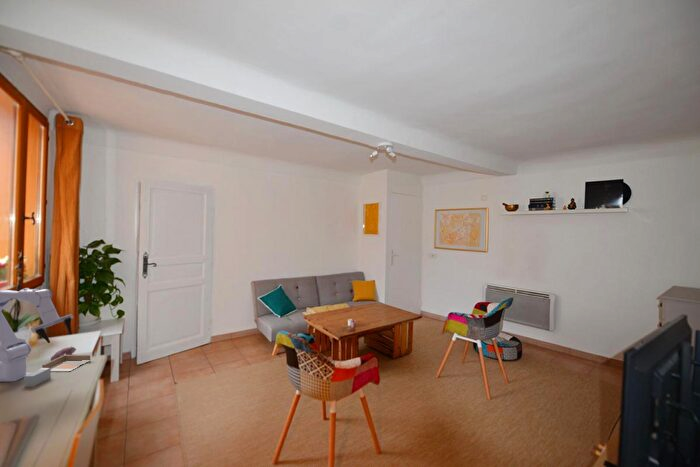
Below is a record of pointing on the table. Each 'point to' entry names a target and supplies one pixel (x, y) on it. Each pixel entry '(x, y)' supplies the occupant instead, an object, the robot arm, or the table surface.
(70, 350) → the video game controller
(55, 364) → the tray
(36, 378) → the slate block
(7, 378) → the robot arm
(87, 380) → the table surface
